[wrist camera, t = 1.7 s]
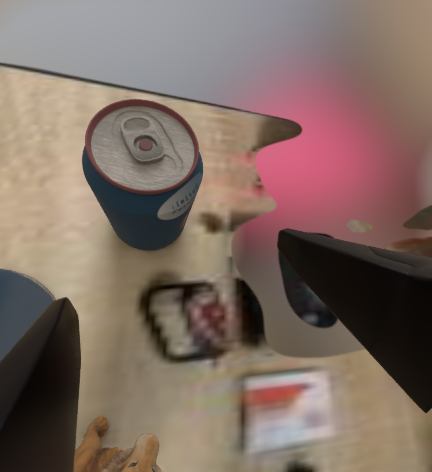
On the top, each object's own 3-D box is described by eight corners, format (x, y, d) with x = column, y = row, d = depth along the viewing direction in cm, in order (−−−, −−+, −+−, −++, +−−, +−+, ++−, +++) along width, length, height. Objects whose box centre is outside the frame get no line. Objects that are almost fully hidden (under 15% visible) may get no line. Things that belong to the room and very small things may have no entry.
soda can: (194, 237, 23) (229, 181, 12) (128, 264, 21) (99, 222, 10) (168, 182, 24) (179, 82, 13) (103, 200, 22) (50, 98, 11)
